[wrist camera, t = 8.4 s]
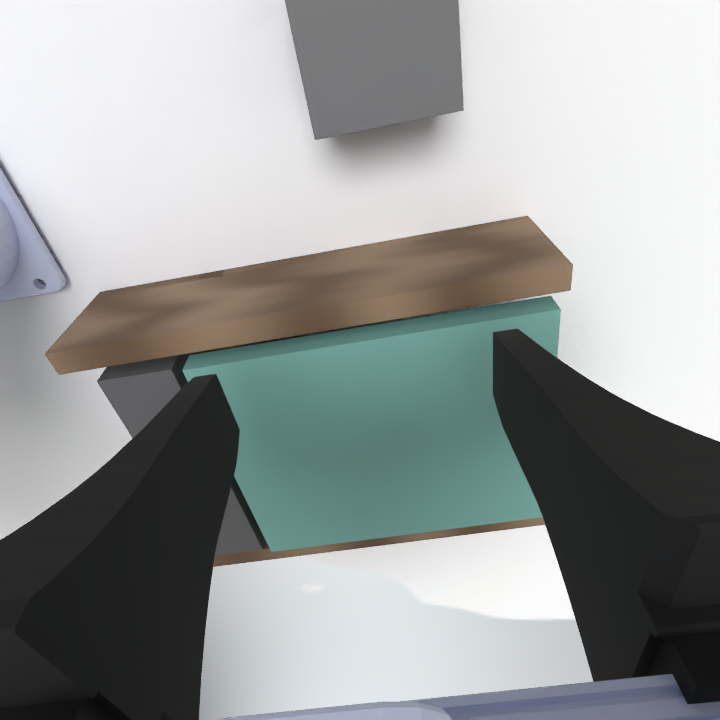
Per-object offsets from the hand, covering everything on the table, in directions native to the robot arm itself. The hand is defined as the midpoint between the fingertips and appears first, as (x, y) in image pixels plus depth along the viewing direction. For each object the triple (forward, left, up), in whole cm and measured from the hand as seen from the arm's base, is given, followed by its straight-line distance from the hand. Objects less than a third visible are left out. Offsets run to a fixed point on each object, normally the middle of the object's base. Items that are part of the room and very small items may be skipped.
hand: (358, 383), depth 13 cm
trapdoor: (-2, -8, -7) cm, 11 cm away
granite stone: (+2, +7, -10) cm, 13 cm away
